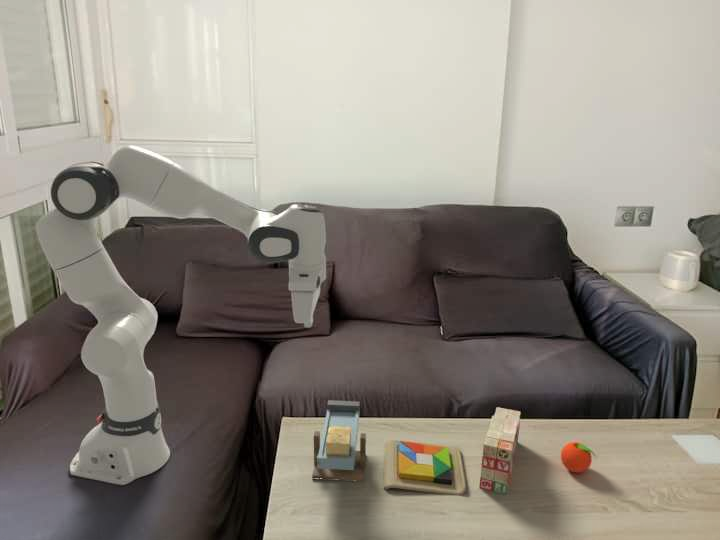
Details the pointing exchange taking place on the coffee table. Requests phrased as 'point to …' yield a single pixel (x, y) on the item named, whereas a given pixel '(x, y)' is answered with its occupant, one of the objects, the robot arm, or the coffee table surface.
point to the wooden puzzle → (423, 467)
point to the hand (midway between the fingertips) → (308, 325)
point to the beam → (339, 417)
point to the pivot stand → (336, 473)
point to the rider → (338, 441)
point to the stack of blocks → (500, 450)
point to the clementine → (576, 457)
